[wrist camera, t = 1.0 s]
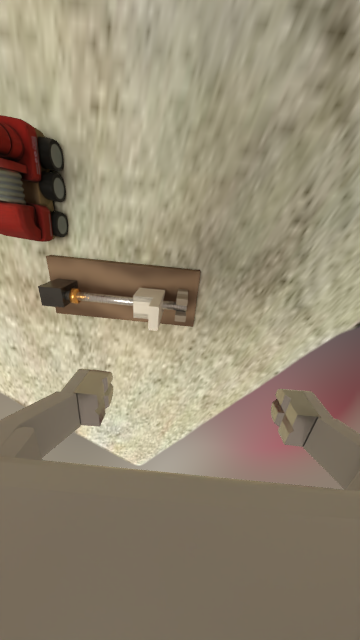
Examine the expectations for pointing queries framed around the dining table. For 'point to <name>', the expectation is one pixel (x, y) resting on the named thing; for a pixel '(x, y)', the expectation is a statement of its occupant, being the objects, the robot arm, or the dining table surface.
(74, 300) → the rod
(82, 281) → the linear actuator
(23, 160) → the toy fire truck
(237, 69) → the dining table surface
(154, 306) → the sleeve
